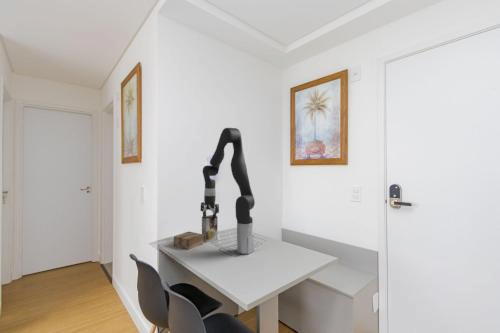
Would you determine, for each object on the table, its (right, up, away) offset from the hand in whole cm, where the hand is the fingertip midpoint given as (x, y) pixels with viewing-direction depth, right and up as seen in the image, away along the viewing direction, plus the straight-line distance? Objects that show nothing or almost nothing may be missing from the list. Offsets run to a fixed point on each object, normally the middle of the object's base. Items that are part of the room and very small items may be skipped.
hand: (209, 218), depth 163 cm
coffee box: (0, -15, 0) cm, 15 cm away
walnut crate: (-11, -15, -11) cm, 21 cm away
